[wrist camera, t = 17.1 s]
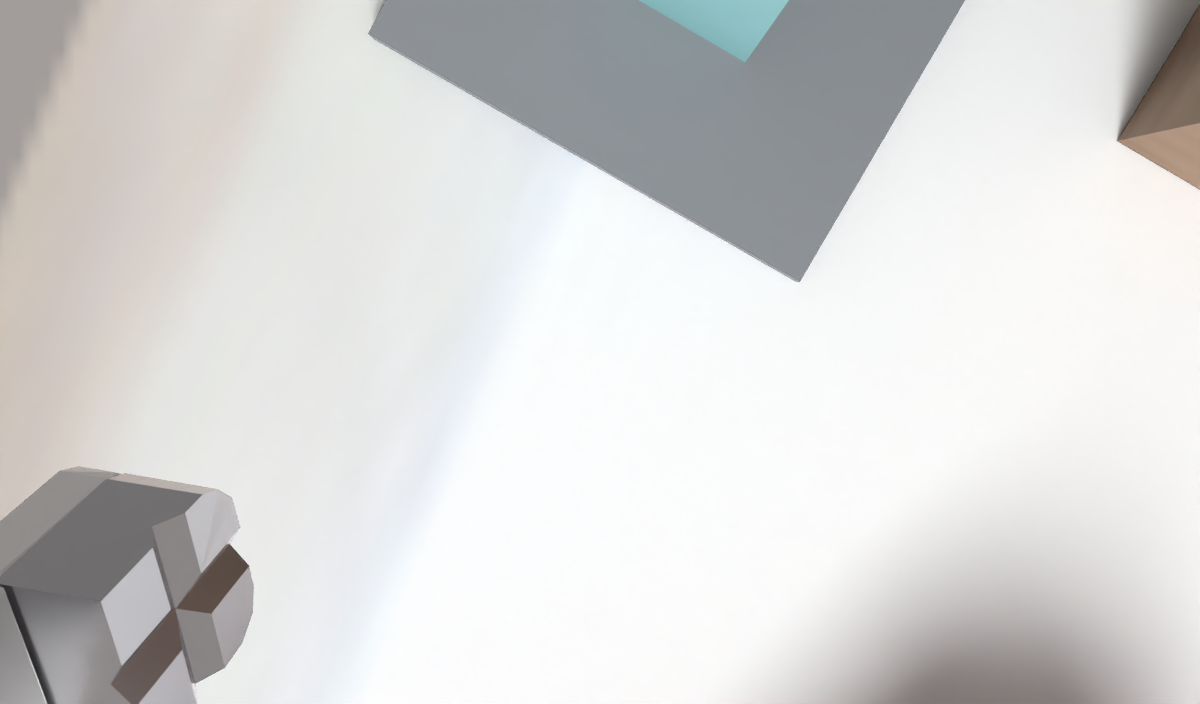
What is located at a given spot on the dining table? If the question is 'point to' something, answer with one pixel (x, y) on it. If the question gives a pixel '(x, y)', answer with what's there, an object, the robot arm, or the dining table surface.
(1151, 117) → the walnut screen
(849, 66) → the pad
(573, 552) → the dining table surface
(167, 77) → the dining table surface
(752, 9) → the lettered block
